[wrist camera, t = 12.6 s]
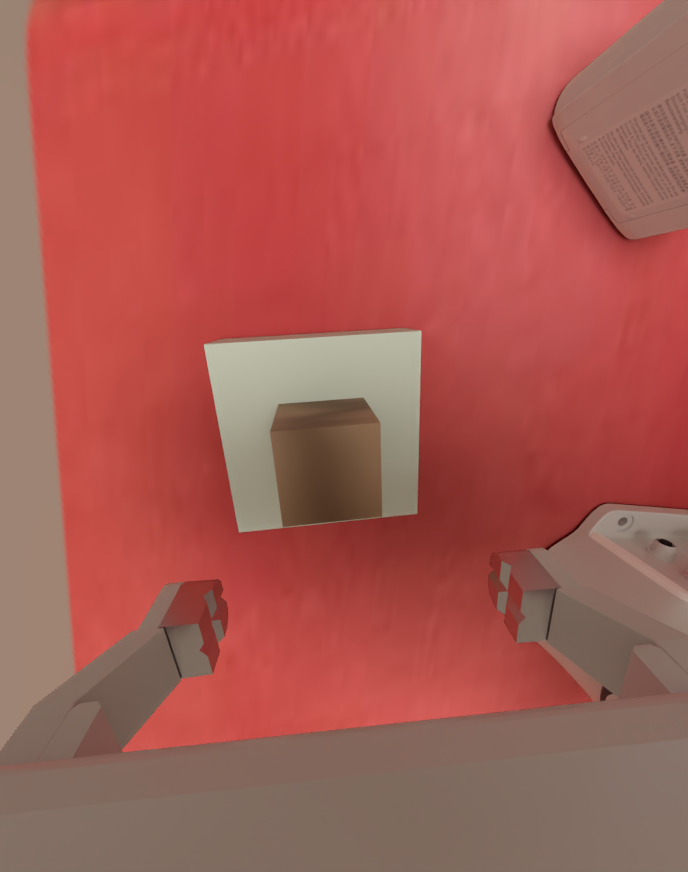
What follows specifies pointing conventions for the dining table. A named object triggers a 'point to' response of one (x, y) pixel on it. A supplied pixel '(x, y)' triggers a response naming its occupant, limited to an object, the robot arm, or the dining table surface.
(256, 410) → the mint base block
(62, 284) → the dining table surface
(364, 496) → the walnut cube
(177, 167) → the dining table surface
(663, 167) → the white slotted box
